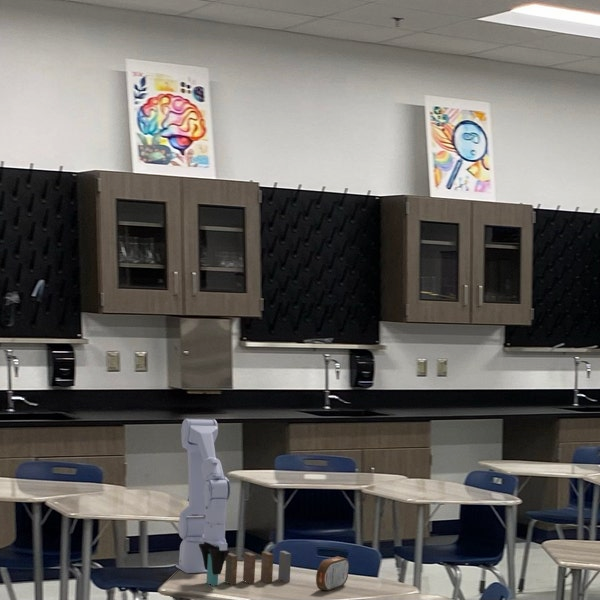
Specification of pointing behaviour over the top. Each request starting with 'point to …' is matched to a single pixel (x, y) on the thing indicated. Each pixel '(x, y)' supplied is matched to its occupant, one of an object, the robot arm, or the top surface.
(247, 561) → the domino
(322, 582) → the tin
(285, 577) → the domino
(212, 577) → the teal rectangular block
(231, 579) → the domino
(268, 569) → the domino
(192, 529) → the robot arm
